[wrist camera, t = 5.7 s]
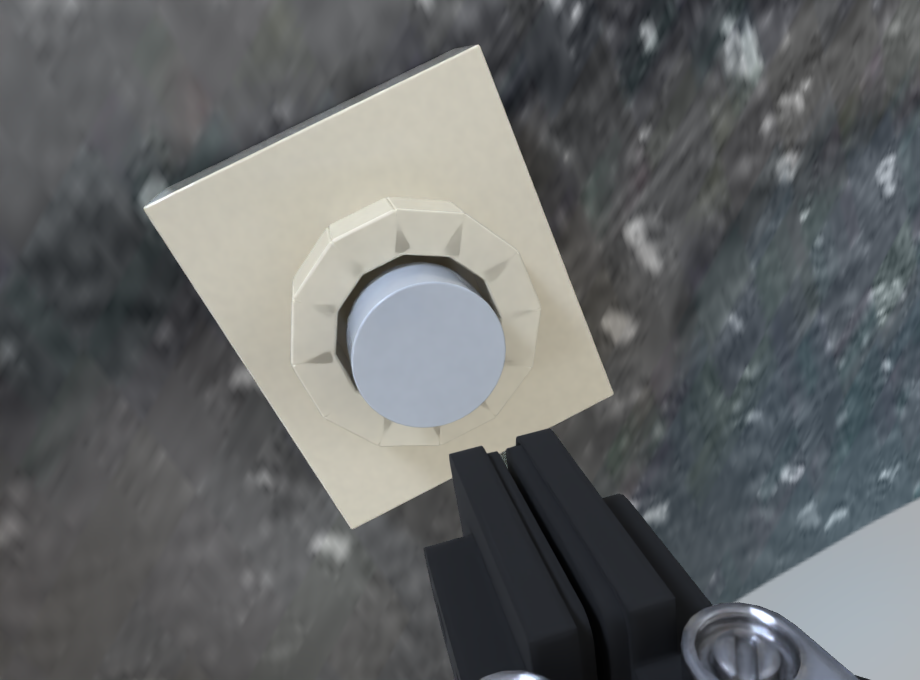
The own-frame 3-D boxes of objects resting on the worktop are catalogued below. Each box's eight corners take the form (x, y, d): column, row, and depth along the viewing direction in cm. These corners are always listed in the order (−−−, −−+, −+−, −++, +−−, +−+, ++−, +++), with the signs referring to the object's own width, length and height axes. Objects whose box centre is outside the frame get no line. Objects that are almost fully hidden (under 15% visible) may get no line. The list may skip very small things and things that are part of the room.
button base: (161, 190, 21) (123, 222, 16) (455, 47, 21) (500, 39, 17) (345, 482, 26) (356, 570, 21) (581, 361, 26) (642, 421, 22)
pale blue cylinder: (319, 302, 18) (322, 328, 16) (452, 236, 19) (470, 253, 17) (385, 418, 20) (394, 453, 18) (506, 356, 20) (528, 384, 18)
